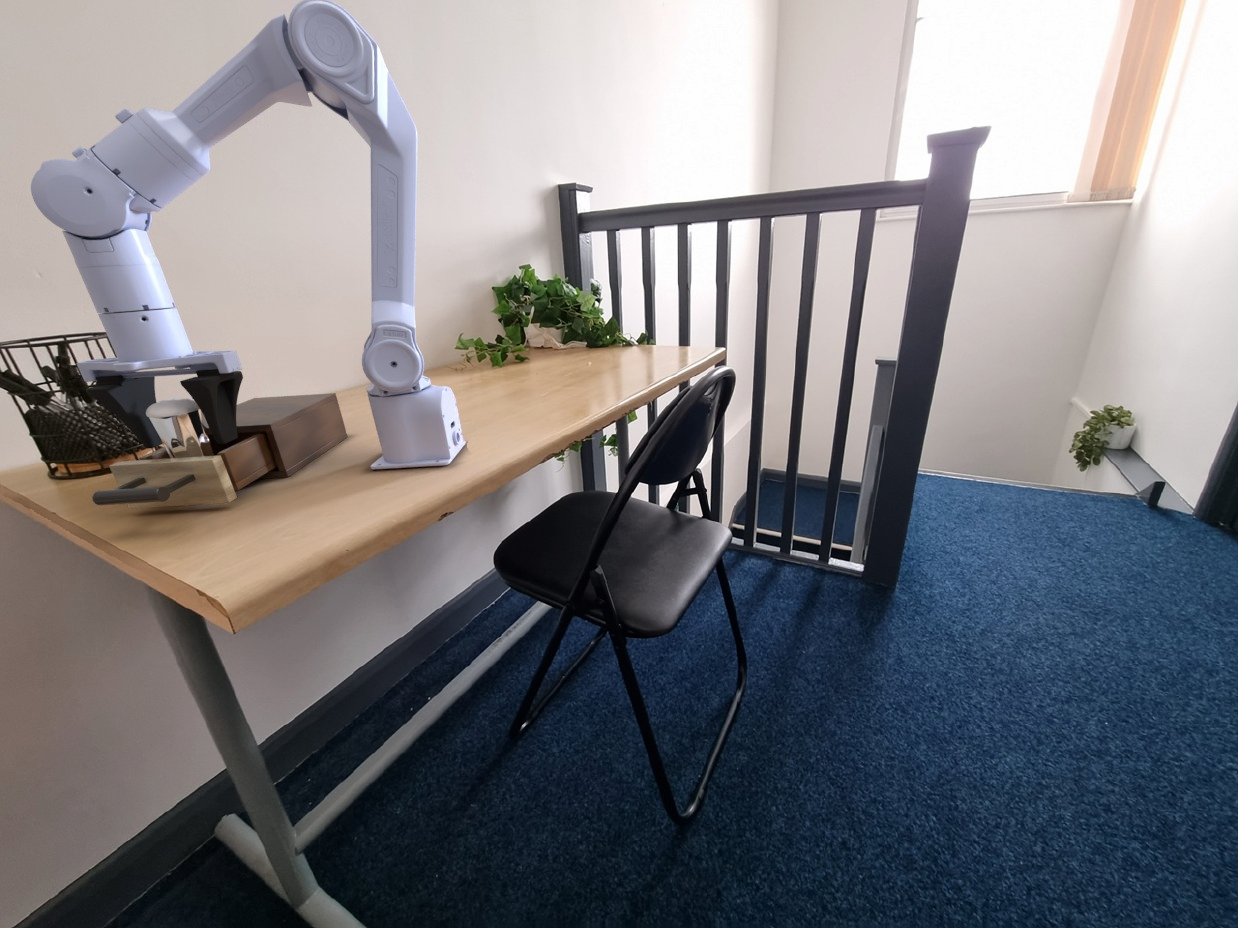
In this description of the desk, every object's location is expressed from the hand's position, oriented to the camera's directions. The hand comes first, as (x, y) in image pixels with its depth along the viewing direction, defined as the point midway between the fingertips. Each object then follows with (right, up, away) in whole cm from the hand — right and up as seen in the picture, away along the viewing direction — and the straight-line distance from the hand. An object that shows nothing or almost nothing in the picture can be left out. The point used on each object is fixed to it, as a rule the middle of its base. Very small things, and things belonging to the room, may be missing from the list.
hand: (192, 443), depth 53 cm
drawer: (0, -5, +2) cm, 5 cm away
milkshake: (0, -4, +2) cm, 4 cm away
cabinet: (0, -1, +13) cm, 13 cm away
